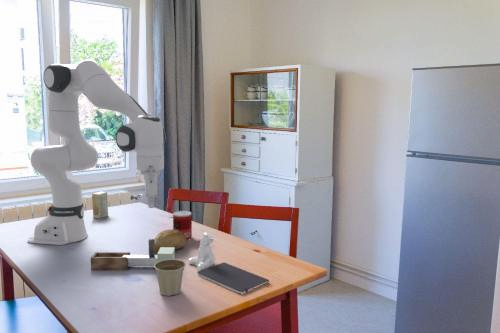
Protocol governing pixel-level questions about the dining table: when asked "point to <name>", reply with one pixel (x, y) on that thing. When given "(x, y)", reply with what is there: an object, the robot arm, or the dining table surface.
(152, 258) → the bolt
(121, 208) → the dining table surface
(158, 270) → the flower pot
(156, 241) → the bread roll
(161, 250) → the pale green block
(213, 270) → the notebook
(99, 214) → the skincare box
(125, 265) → the open wooden box
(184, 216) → the canned food
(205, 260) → the sitting furry creature
